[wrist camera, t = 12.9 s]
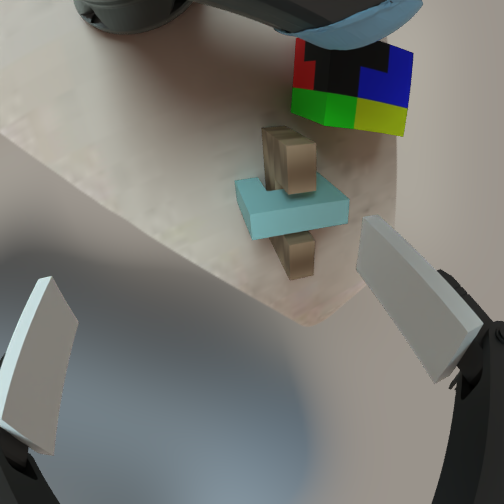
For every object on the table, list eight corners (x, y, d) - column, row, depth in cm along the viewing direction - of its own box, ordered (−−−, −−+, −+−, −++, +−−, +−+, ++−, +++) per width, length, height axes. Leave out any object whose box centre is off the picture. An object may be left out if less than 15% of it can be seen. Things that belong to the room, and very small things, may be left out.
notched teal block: (237, 201, 39) (252, 240, 31) (234, 180, 37) (249, 214, 29) (314, 190, 40) (347, 223, 32) (314, 170, 39) (349, 199, 30)
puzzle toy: (365, 52, 30) (413, 53, 22) (358, 119, 36) (403, 136, 27) (295, 38, 28) (331, 28, 20) (290, 112, 34) (323, 125, 26)
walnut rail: (261, 128, 34) (286, 146, 26) (284, 125, 34) (316, 143, 26) (269, 237, 43) (289, 280, 35) (288, 234, 44) (313, 275, 35)
